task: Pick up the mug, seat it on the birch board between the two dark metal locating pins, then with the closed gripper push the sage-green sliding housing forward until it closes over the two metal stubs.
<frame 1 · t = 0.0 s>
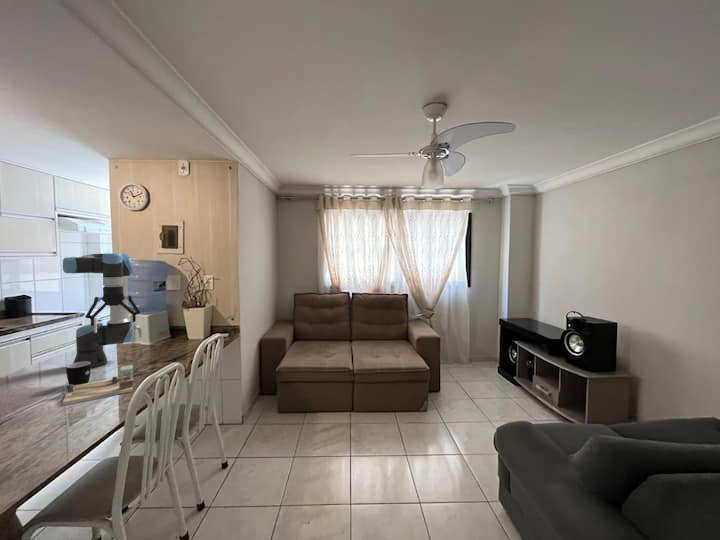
hand: (114, 330, 148), 28 cm above the counter, fingers open, 13 cm apart
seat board: (101, 390, 147), on the counter
housing: (126, 372, 158), point 4 cm above the counter, slide at 10.0 cm
mug: (80, 384, 154), on the counter
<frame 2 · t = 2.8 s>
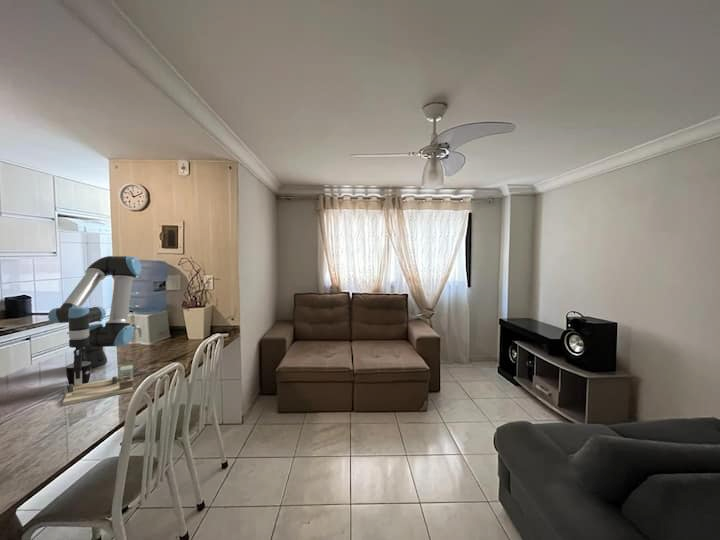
hand: (80, 380, 154), 2 cm above the counter, fingers open, 13 cm apart
nothing on the counter moved.
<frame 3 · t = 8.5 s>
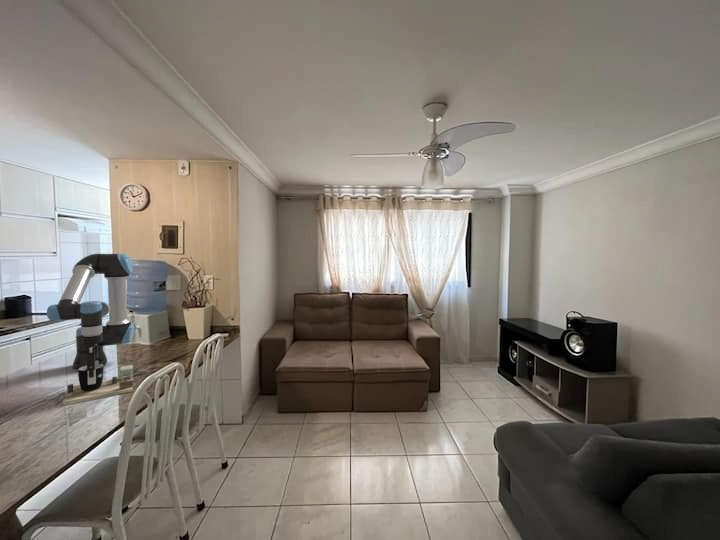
hand: (93, 379, 147), 5 cm above the counter, fingers open, 13 cm apart
mug: (92, 387, 146), point 1 cm above the counter, touching gripper, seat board
everything else where it was.
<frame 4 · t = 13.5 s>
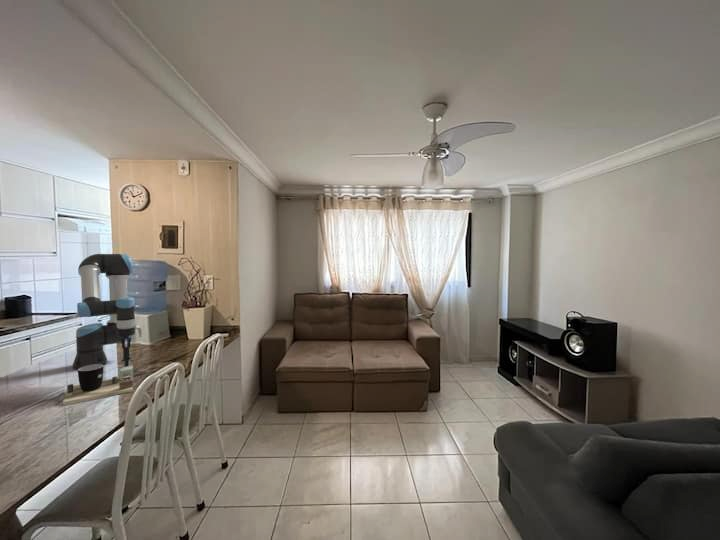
hand: (126, 372, 161), 3 cm above the counter, fingers closed
housing: (126, 373, 157), point 4 cm above the counter, slide at 8.9 cm, touching gripper
mug: (92, 388, 146), point 1 cm above the counter, touching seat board
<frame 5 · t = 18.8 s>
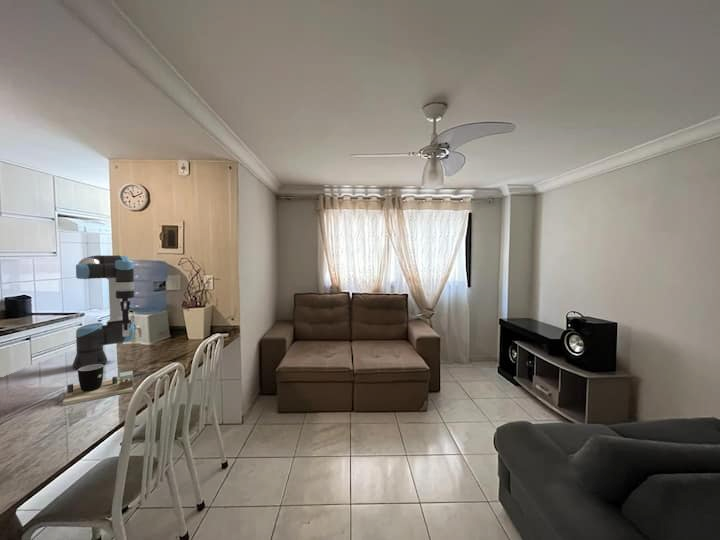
hand: (126, 336, 160), 22 cm above the counter, fingers closed
housing: (126, 379, 150), point 4 cm above the counter, slide at 0.0 cm
everything else where it was.
at the end: mug inside the target area (0.4 cm from its centre), point 1.4 cm above the counter; mug tilted 0°; housing slide at 0.0 cm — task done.
